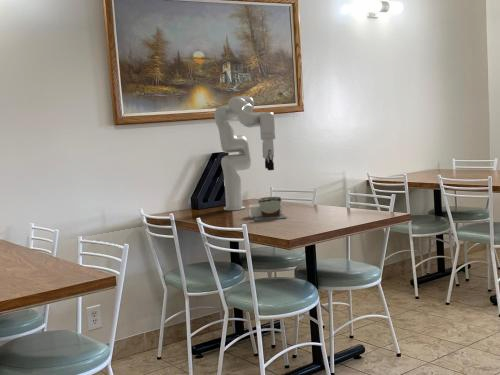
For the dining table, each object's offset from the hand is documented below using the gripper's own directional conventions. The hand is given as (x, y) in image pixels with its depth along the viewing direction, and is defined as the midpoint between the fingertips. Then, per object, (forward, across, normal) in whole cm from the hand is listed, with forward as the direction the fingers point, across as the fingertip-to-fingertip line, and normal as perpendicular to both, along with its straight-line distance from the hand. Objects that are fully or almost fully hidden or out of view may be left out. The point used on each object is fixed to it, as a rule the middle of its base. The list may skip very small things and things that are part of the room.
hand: (269, 169), depth 331 cm
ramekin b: (+25, -3, +1) cm, 25 cm away
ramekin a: (+25, -3, -7) cm, 26 cm away
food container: (+24, +4, -2) cm, 25 cm away
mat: (+25, +5, -2) cm, 25 cm away
